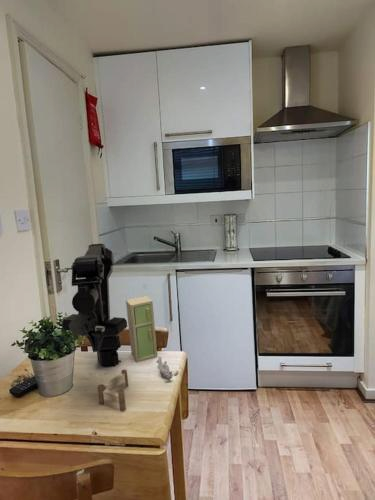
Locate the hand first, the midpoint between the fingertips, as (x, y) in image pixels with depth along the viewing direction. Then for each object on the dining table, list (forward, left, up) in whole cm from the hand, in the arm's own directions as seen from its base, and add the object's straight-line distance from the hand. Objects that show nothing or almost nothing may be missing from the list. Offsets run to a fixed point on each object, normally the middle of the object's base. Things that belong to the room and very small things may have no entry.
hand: (97, 351), depth 103 cm
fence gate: (+5, +1, -12) cm, 13 cm away
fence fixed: (+9, -5, -13) cm, 16 cm away
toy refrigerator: (-1, +23, -13) cm, 27 cm away
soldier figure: (+13, +16, -13) cm, 24 cm away
